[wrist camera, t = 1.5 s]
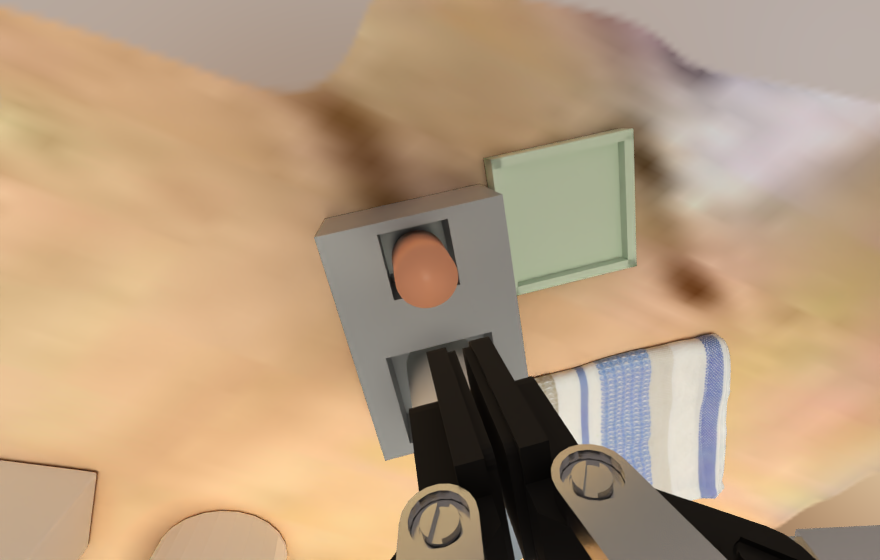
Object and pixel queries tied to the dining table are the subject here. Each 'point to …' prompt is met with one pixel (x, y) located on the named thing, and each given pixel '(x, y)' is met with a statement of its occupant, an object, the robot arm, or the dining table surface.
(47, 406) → the dining table surface
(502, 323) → the housing
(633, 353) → the dish towel
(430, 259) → the plunger
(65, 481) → the milk carton
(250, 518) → the mug
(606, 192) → the tray
